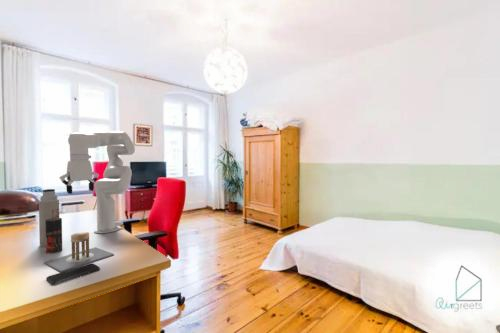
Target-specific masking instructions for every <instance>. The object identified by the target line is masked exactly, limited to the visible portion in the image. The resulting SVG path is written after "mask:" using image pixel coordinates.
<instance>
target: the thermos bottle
mask: <svg viewBox="0 0 500 333" xmlns="http://www.w3.org/2000/svg"><path fill="white" fill-rule="evenodd" d="M58 198H59V197H58V195H57V194H56V189H55V188H47V189H42V195H41V196H40V200H38V219H39V220H38V222H39V223H38V224H39V227H38V228H39V235H38V236H39V247H41V248H44V247H45V248H46V221H45V220H47V219H52V218H60V199H58Z"/></svg>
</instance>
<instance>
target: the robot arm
mask: <svg viewBox="0 0 500 333" xmlns="http://www.w3.org/2000/svg"><path fill="white" fill-rule="evenodd" d="M128 134H129V133H127V132H126V131H120V130H117V131H116V130H114V131H113V130H110V131H109V130H108V131H107V130H105V131H95V132H72V133H69V134H68V136H69V137H68V140H67V141H68V142H67V143H68V145H69V160H68V162H67V167H66V173H64V174H63V175H61V176H59V179H60V181H61V183H62V184H64V185H65V186H66V192H67V194H70V195H71V194H73V185H72V184H73V182H81V181H87V182H89V183H88V191H90V192H93V191H94V192H95V196H96V228H95V229H94V230H93V232H94V233H95V234H108V233H113V232H116V231H119V226H122V225H124V221H116V200H115V199H114V196H113V195H124V194H125V193H126V192H127V190H128V187H129V185H130V182H131V179H132V176H133V172H132V171H133V170H132V169H131V167H129V166H127V165H124V161H123V160H122V158H121V157H119V156H130V155H133V154H134V153H135V151H136V149H135V148H136V147H135V144H134V143H133V141H132V139H131V137H130V136H129V135H128ZM105 146H106V151H107V152H106V153H107V158H108V162H107V165H106V167H105V170H104V171H103V174H102V175H103V176H102V177H103V178H100V179H98V178H99V176H100V174H99V173H97V172H95V171H93V168H92V164H91V161H90V160H89V159H91V158H92V156H91V155H89V149H95V148H99V147H105Z"/></svg>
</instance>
